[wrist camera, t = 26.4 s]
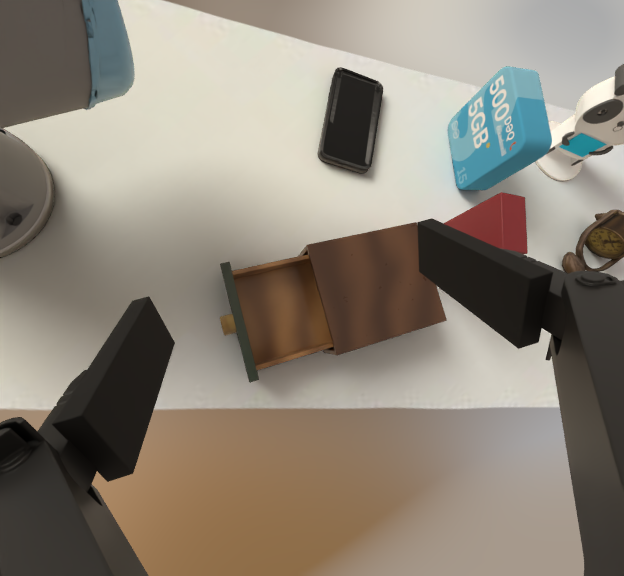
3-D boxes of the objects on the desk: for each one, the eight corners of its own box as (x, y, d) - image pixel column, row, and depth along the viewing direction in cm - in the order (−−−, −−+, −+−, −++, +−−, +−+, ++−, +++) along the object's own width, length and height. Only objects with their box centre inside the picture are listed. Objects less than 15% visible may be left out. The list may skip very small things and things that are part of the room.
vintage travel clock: (660, 263, 48) (655, 201, 47) (617, 283, 44) (611, 215, 42) (602, 265, 55) (597, 210, 54) (560, 282, 50) (553, 223, 49)
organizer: (323, 352, 39) (337, 355, 34) (297, 256, 40) (306, 244, 35) (421, 322, 43) (446, 320, 38) (395, 235, 44) (416, 222, 39)
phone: (384, 83, 46) (370, 171, 43) (380, 89, 47) (367, 175, 44) (335, 64, 44) (317, 154, 41) (333, 71, 45) (315, 159, 42)
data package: (445, 123, 49) (509, 59, 38) (469, 125, 50) (537, 63, 39) (456, 193, 48) (526, 148, 36) (480, 193, 49) (555, 150, 37)
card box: (428, 231, 45) (501, 191, 33) (447, 234, 46) (525, 197, 33) (428, 273, 44) (503, 249, 32) (447, 275, 45) (527, 253, 32)
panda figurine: (524, 166, 52) (634, 101, 37) (530, 111, 54) (635, 30, 40) (578, 189, 54) (702, 137, 40) (581, 136, 56) (699, 68, 42)
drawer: (236, 380, 35) (236, 387, 31) (210, 274, 37) (206, 266, 32) (364, 340, 40) (380, 341, 35) (337, 247, 41) (349, 236, 37)
